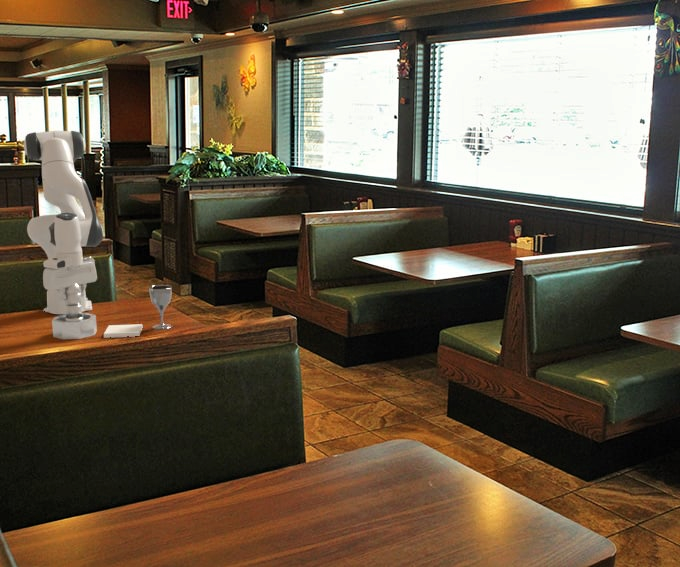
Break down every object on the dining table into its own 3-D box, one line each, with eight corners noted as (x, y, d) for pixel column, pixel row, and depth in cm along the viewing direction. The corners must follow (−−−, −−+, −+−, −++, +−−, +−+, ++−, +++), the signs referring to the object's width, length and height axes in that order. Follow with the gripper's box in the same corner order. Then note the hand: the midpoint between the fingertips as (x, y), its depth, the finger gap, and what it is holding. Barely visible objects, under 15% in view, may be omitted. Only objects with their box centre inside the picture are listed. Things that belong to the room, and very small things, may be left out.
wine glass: (154, 330, 287) (152, 290, 284) (148, 325, 294) (146, 286, 291) (175, 327, 290) (174, 287, 287) (169, 323, 297) (168, 284, 294)
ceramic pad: (109, 329, 289) (108, 325, 288) (142, 328, 290) (142, 324, 290) (103, 337, 277) (103, 333, 277) (138, 336, 279) (138, 332, 278)
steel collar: (59, 329, 288) (58, 313, 287) (98, 328, 290) (97, 312, 289) (50, 339, 275) (49, 323, 274) (92, 338, 276) (90, 321, 275)
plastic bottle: (80, 327, 287) (74, 272, 283) (88, 330, 282) (83, 274, 278) (62, 330, 282) (57, 275, 279) (70, 333, 278) (65, 277, 274)
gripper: (88, 254, 287) (90, 292, 290) (39, 263, 271) (42, 302, 274) (99, 256, 284) (101, 294, 287) (50, 265, 267) (53, 304, 270)
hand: (72, 298), depth 280 cm, fingers closed on plastic bottle, 6 cm apart
